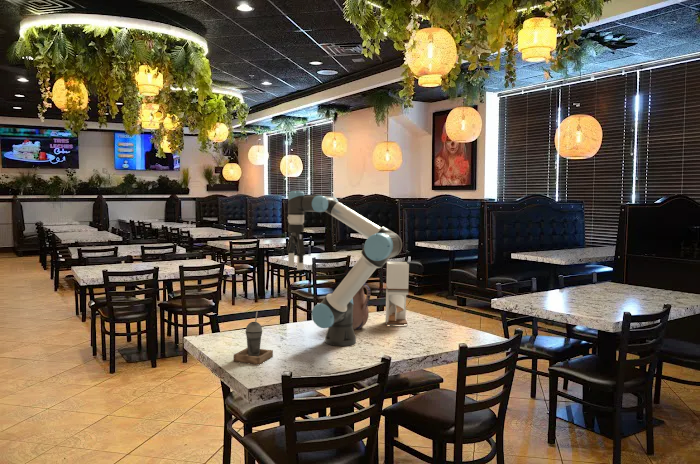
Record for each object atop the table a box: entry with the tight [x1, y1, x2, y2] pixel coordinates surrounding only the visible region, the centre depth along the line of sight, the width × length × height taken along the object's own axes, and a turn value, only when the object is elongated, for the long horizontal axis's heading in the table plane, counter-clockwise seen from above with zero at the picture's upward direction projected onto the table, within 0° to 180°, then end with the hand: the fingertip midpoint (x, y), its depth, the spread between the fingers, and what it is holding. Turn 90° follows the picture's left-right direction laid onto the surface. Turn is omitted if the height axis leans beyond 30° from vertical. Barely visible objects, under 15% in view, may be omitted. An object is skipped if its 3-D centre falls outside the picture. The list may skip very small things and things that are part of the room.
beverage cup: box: [245, 311, 263, 357], centre depth 233 cm, size 7×7×20 cm
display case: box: [385, 261, 410, 326], centre depth 306 cm, size 11×11×35 cm
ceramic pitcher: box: [353, 282, 372, 330], centre depth 295 cm, size 18×21×25 cm
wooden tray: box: [232, 347, 274, 366], centre depth 234 cm, size 12×12×3 cm
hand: (295, 268), depth 259 cm, fingers open, 13 cm apart
